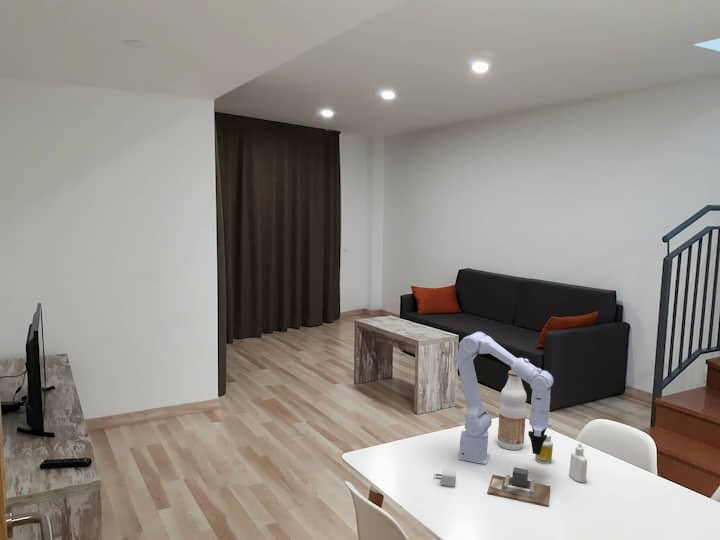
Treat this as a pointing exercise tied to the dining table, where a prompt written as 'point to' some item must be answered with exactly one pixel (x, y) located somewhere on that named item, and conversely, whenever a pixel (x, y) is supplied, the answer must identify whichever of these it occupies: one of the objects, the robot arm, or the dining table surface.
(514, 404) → the fruit juice
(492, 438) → the dining table surface
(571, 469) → the eye dropper bottle
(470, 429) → the robot arm
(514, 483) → the plug
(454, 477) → the usb wall charger
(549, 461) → the supplement bottle
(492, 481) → the socket dock
